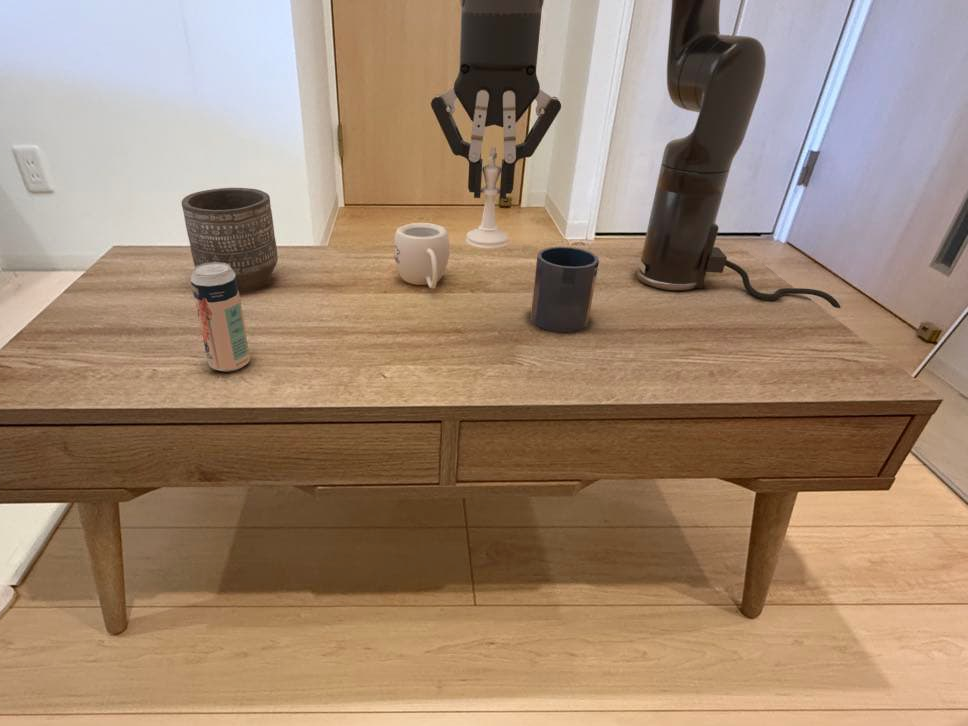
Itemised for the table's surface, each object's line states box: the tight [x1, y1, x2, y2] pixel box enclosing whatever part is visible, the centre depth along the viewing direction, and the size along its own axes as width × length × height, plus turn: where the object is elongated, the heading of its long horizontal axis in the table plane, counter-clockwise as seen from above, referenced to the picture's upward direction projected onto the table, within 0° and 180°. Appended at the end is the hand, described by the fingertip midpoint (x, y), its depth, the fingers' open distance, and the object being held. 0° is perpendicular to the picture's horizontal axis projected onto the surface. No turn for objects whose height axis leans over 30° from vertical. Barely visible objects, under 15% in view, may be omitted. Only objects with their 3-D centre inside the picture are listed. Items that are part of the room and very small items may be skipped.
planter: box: [181, 187, 279, 294], centre depth 90 cm, size 12×12×13 cm
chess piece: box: [465, 147, 510, 250], centre depth 67 cm, size 5×5×10 cm
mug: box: [393, 222, 450, 290], centre depth 92 cm, size 12×8×8 cm
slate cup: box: [530, 246, 600, 333], centre depth 82 cm, size 8×8×9 cm
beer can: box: [189, 262, 251, 373], centre depth 70 cm, size 5×5×12 cm
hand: (489, 196), depth 67 cm, fingers closed on chess piece
